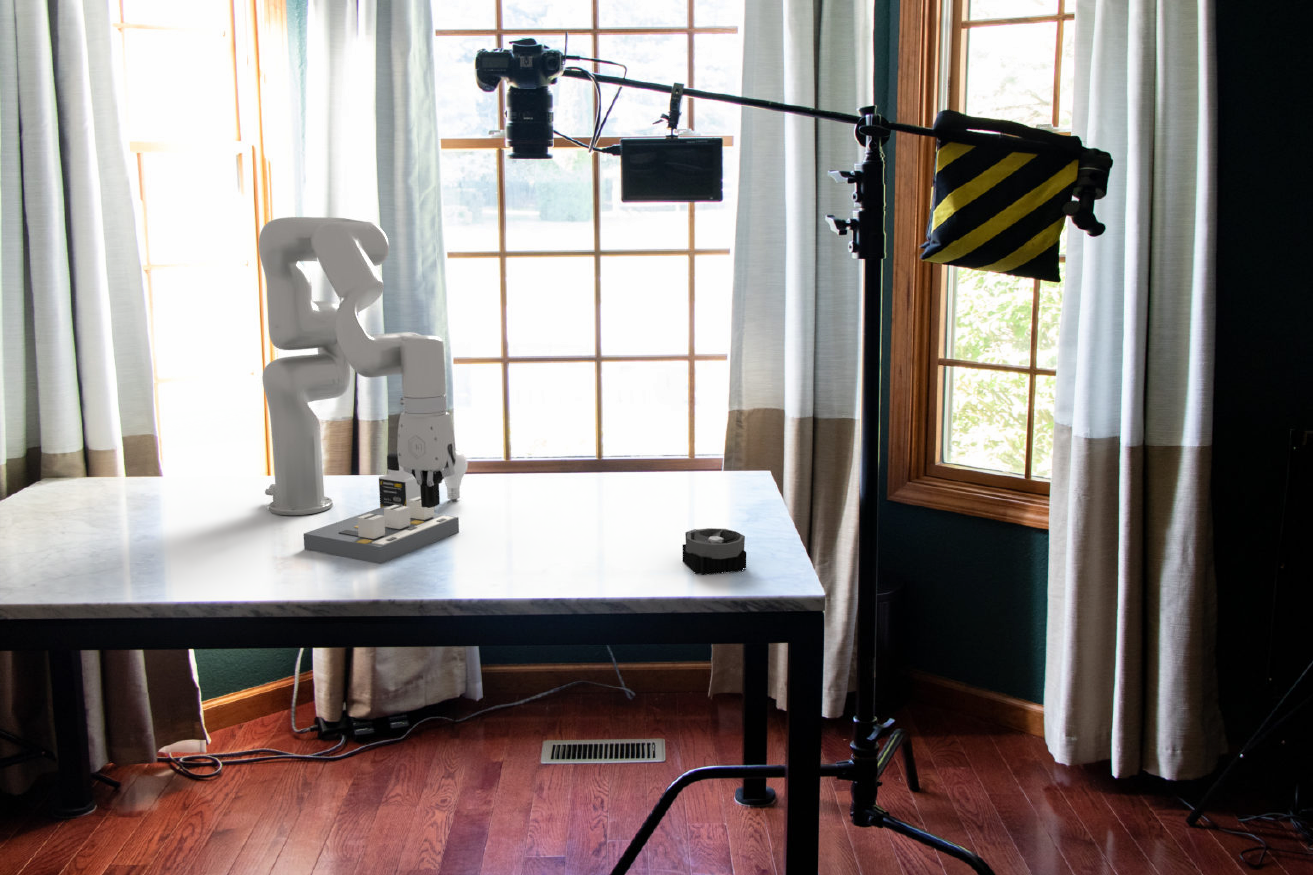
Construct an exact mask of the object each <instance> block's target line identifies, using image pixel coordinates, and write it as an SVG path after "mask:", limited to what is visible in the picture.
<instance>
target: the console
mask: <svg viewBox="0 0 1313 875" xmlns="http://www.w3.org/2000/svg"><path fill="white" fill-rule="evenodd" d="M387 507H389V506H384V507H381V508H380V507H378V508H376V509H373V510H370V511H366V512H364V513H360V514H358V515H355V516H351V517H348V518H345V519H343V520H340V521H336V522H334V523H331V524H328V525H325V526H322V527H319V528H317V529H316V528H315V529H312V530H309V531H307V532H304V533H303V550H307V551H310V552H311V551H312V552H317V553H322V554H328V555H331V556H332V555H333V556H338V557H344V558H350V559H353V560H360V561H365V562H370V563H374V564H375V563H376V564H380V565H381V564H383V563H386V562H388V561H391V560H394V559H395V558H399V557H401V556H403V555H407V554H408V553H411V552H413V551H415V550H418V549H420V548H424V547H427V546H428V545H432V544H433V543H436V542H438V541H440V540H444V539H445V538H447V537H451V536H453V535H456V534H458V533H460V529H459V528H460V524H459V518H460V517H458V516H453V515H447V514H440V513H436V512H434V517H431V518H429V519H426V520H421V519H415V518H410V526H407V527H404V528H402V529H395V528H389V527H385V535H383V536H380V537H378V538H375V539H371V538H365V537H359V535H358V517H360V516H363V515H366V514H378V515H381V516H384V508H387ZM384 522H385V520H384Z"/></svg>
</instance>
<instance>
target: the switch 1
mask: <svg viewBox="0 0 1313 875" xmlns="http://www.w3.org/2000/svg"><path fill="white" fill-rule="evenodd" d="M358 535H359V537H365V538H371V539H375V538H378V537H380V536H383V535H385V522H384V516H381V515H378V514H366V515H363V516H360V517H358Z"/></svg>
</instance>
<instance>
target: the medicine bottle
mask: <svg viewBox="0 0 1313 875" xmlns="http://www.w3.org/2000/svg"><path fill="white" fill-rule="evenodd" d="M386 460H387V463H386V464H387V473H388V474H384V475H381V476H379V477H378V486H379V487H378V488H379V489H378V490H379V491H378V493H379V506H380V507H379V508H381V507H384V506H389V507H390V506H392V505H403V506H407V507H409V500H410V499H413V498H416V497H419V496H420V497H421V491H420V485H418V484H417V481H416V479H415V477H414V476H413V475H412V474H410V473H407V472H405V471H404V470H403V467H401V466H400V465H399V463H398V450H396V451H395V450H394V451H392V452H389V453H388V454H387V456H386Z"/></svg>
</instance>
